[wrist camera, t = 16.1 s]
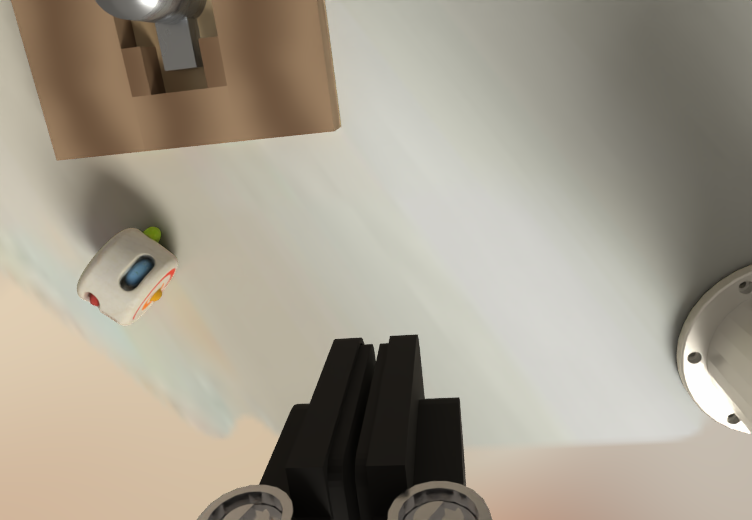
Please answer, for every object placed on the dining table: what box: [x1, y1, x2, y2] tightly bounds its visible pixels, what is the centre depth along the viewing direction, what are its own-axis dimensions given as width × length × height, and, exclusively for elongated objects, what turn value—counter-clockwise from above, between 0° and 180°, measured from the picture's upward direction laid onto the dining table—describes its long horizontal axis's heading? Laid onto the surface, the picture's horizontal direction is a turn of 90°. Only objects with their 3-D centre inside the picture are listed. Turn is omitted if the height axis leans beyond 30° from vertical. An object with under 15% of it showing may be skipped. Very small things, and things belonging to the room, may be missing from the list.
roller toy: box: [77, 227, 178, 326], centre depth 39 cm, size 4×6×6 cm
